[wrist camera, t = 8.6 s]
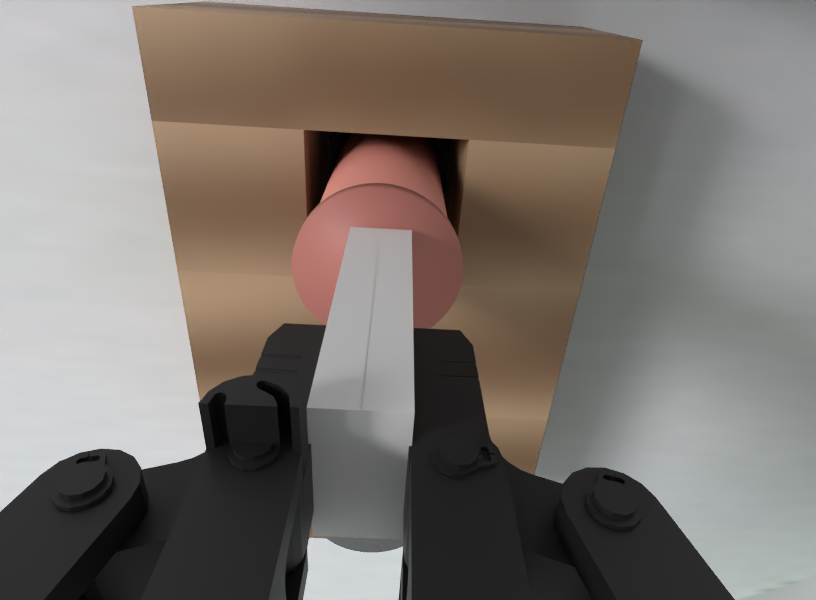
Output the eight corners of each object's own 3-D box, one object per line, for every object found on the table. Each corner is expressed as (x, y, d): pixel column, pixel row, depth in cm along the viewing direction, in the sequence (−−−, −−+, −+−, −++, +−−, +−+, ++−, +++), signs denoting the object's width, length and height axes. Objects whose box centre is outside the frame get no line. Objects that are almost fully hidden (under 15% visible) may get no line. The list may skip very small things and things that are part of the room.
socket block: (204, 1, 20) (132, 6, 15) (581, 27, 20) (642, 40, 15) (254, 442, 31) (223, 534, 26) (498, 452, 31) (516, 545, 26)
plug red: (332, 109, 20) (286, 184, 13) (447, 116, 21) (472, 194, 13) (333, 218, 23) (295, 339, 15) (438, 224, 23) (453, 346, 15)
